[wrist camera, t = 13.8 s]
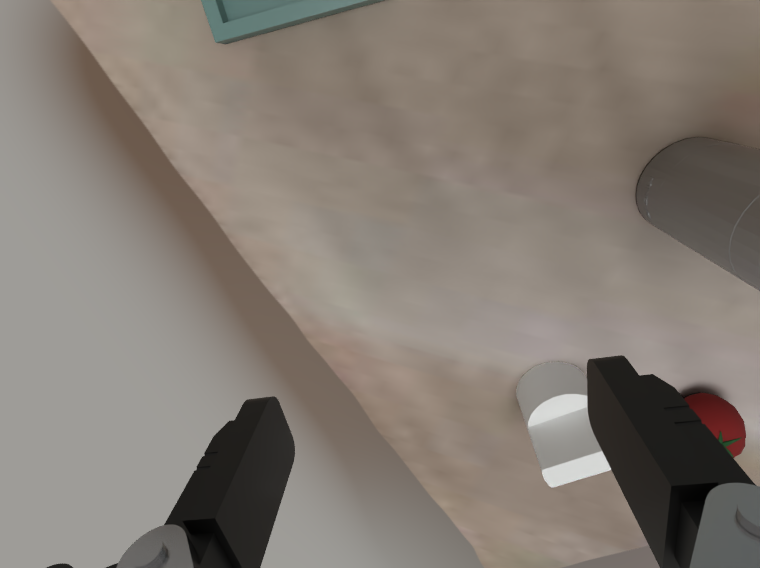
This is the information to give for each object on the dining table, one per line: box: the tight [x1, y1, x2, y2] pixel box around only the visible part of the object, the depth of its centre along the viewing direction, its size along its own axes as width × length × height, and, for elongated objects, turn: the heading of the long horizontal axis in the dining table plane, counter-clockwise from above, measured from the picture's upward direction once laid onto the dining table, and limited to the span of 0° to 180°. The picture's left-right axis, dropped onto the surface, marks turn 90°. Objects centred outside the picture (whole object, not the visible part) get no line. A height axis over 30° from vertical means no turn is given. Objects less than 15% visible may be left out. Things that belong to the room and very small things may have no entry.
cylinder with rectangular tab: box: [516, 361, 611, 488], centre depth 50 cm, size 9×9×12 cm
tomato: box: [684, 393, 746, 458], centre depth 52 cm, size 8×8×7 cm
